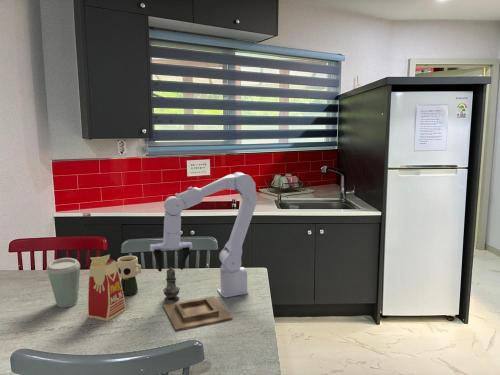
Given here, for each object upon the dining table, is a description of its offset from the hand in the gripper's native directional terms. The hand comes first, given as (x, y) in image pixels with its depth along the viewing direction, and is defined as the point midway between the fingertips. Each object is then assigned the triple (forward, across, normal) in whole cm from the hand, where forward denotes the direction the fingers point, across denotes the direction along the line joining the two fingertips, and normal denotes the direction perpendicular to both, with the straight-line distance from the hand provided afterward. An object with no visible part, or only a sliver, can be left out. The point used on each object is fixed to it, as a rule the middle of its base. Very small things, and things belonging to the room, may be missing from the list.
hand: (170, 269), depth 139 cm
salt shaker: (+11, -1, 0) cm, 11 cm away
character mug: (+12, +11, -13) cm, 21 cm away
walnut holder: (+10, -5, +14) cm, 18 cm away
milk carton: (+13, +21, +1) cm, 25 cm away
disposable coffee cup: (+14, +32, -13) cm, 37 cm away
